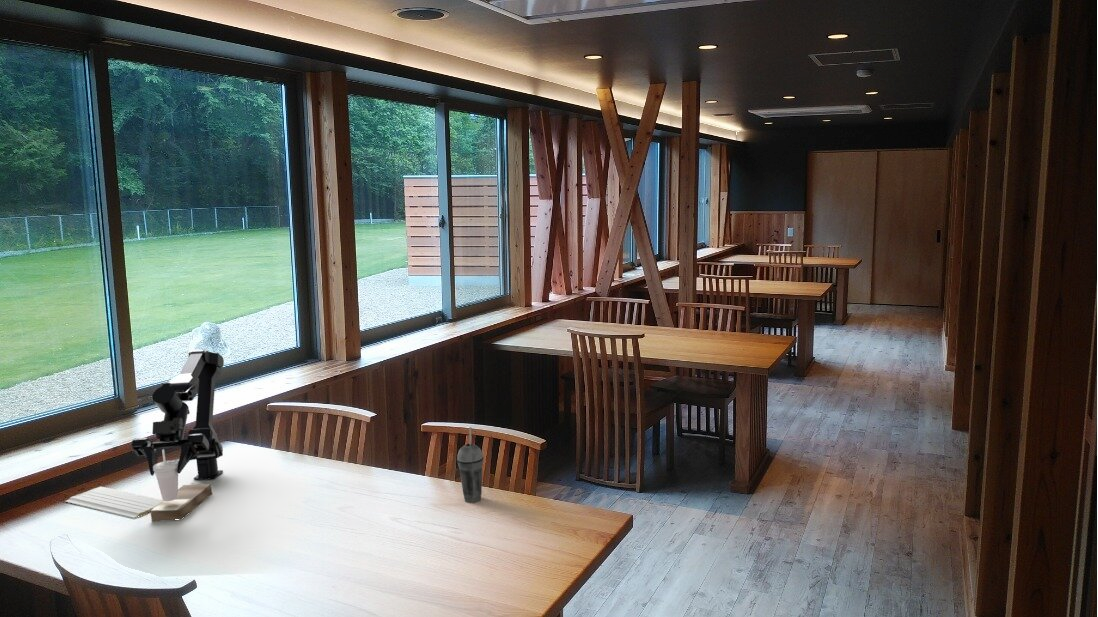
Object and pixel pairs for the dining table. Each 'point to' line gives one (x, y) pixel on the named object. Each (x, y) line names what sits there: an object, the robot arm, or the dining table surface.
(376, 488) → the dining table surface
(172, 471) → the smoothie
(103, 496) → the baseboard molding
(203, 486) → the beam
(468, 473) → the beverage cup
